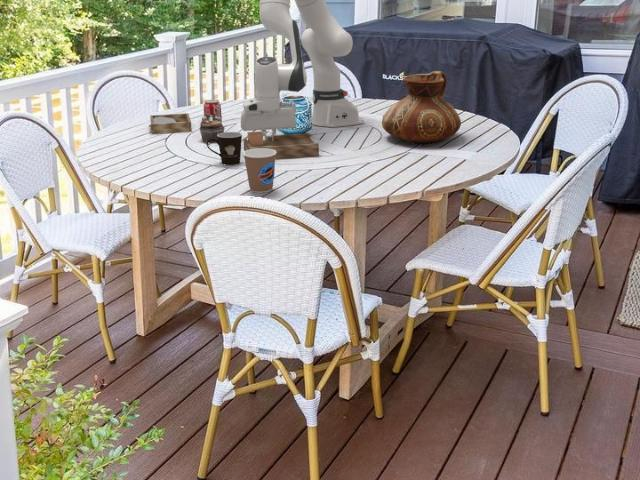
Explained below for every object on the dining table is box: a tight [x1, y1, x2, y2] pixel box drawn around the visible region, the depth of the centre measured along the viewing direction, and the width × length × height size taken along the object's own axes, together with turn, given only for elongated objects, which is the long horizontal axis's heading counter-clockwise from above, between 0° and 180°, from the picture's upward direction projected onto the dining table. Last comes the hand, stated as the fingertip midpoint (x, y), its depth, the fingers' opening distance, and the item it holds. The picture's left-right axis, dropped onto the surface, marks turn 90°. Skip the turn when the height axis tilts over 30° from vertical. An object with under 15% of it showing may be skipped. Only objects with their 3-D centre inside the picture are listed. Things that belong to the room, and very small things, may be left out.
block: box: [246, 130, 264, 146], centre depth 291 cm, size 5×5×4 cm
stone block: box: [153, 117, 176, 124], centre depth 331 cm, size 12×5×10 cm
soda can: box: [203, 99, 223, 123], centre depth 325 cm, size 7×7×12 cm
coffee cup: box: [242, 148, 277, 194], centre depth 247 cm, size 10×10×12 cm
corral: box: [149, 112, 192, 135], centre depth 330 cm, size 16×18×4 cm
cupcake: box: [199, 114, 225, 144], centre depth 308 cm, size 10×10×10 cm
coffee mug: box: [206, 131, 243, 166], centre depth 278 cm, size 12×9×10 cm
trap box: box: [242, 132, 320, 160], centre depth 290 cm, size 25×17×4 cm
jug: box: [381, 70, 462, 146], centre depth 302 cm, size 30×30×25 cm
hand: (269, 141), depth 292 cm, fingers closed
